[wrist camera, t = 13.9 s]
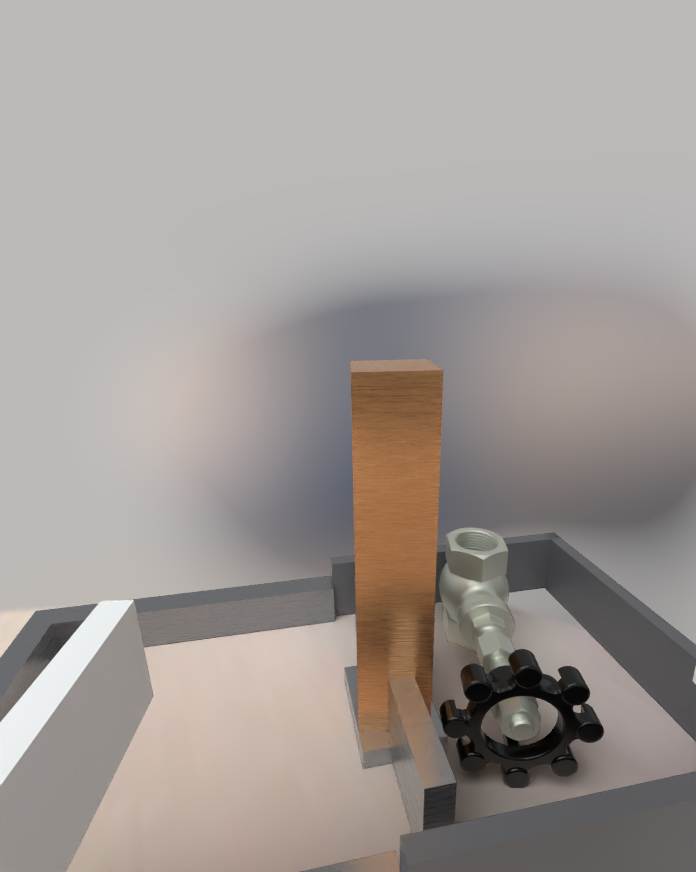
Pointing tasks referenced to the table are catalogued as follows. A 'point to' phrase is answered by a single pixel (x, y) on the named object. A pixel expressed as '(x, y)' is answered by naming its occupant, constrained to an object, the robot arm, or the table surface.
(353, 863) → the slot rails
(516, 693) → the valve
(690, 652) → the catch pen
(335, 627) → the table surface
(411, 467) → the brown wooden block
